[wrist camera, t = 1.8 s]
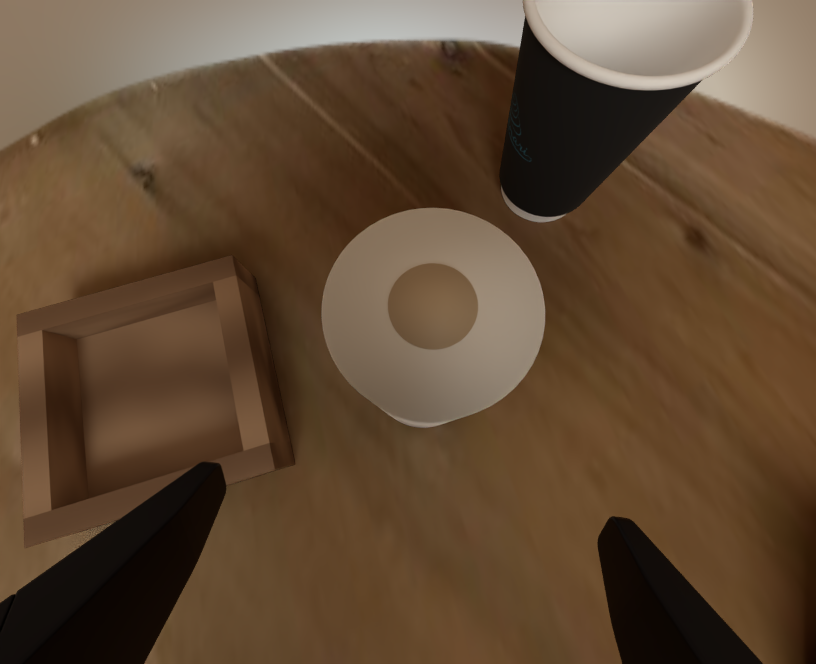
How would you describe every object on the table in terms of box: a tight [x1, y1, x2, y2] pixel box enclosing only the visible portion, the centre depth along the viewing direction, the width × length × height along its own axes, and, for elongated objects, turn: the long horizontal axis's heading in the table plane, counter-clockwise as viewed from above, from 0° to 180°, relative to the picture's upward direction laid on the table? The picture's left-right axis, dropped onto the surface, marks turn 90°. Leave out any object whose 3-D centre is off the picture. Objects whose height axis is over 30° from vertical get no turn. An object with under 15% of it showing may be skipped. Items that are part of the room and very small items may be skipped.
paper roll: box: [321, 208, 545, 428], centre depth 15 cm, size 6×6×12 cm
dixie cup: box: [500, 0, 753, 222], centre depth 19 cm, size 8×8×11 cm
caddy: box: [17, 255, 295, 548], centre depth 19 cm, size 11×11×3 cm
